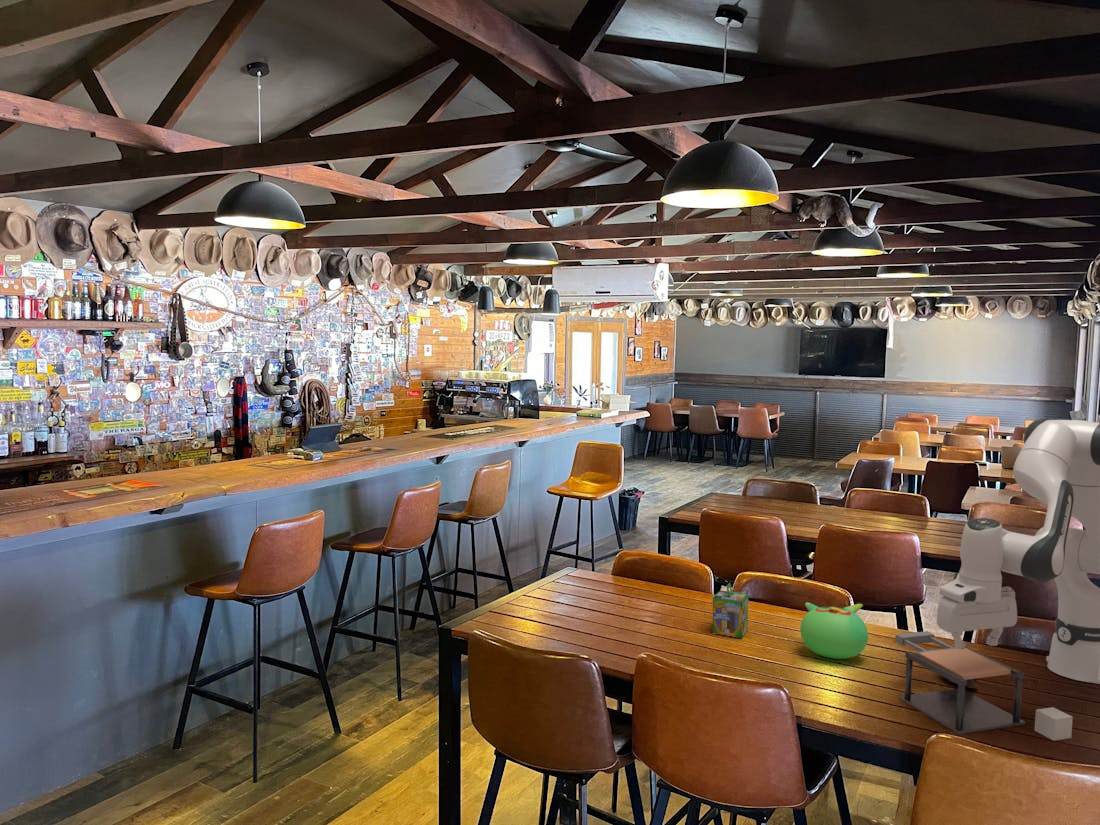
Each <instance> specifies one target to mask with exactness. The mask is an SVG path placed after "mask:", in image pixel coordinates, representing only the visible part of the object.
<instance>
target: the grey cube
mask: <svg viewBox="0 0 1100 825" xmlns="http://www.w3.org/2000/svg"><path fill="white" fill-rule="evenodd" d="M1034 716H1035V717H1034V732H1036V733H1038V734H1040V735H1043V736H1044V737H1046V738H1048V739H1050V740H1051V741H1054V742H1055V741H1060V740H1061V741H1063V740H1067V739H1072V734H1073V732H1072V731H1073V718H1074V717H1073V716H1072V715H1070V714H1068V713H1065V712H1063V711H1062V710H1060V709H1058V708H1056V707H1054V706H1052V707H1044V708H1038V709H1035V715H1034Z"/></svg>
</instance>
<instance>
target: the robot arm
mask: <svg viewBox="0 0 1100 825" xmlns="http://www.w3.org/2000/svg"><path fill="white" fill-rule="evenodd" d="M1012 476H1013V478H1014V480H1015V482H1016V484H1017V485H1018V486H1019V488H1020V489H1021V490H1022V491H1023V492H1025V493H1027V494H1028V495H1029V496H1031V497H1032V498H1035V499H1037V500H1039V501H1041V503H1044V504H1046V506H1047V509H1046V515H1045V519H1044V523H1043V527H1041V528H1039V529H1038V531H1036V533H1035V534H1034V535H1030V534H1023V533H1019V532H1014V531H1010V530H1008V529H1005V528H1003V525H1002V523H1001V522H1000V521H999V520H996V519H993V518H988V517H987V518H986V517H982V518H981V517H980V518H979V517H978V518H973V519H970V520H968V521H967V522H966V523H965V525H964V528H963V530H962V536H961V540H960V541H961V542H960V548H959V549H960V550H959V551H960V553H959V558H960V561H961V565H960V568H959V570H958V571H959V572H958V577H957V578H955V579H953V580H951V581H950V582H947V583H945V584H943V585H941V586H940V587H939V594H940V595H941V596H942V597H941V598H940V599H939V602H938V604H937V613H936V614H937V615H936V623H937V626H938V628H940V630H943V631H944V632H947V633H949V634H951V637H952V638H953V641H954V643H953V644H954V648H957V649H959V650H961V649H965V646H966V641H963V638H962V636H963V634H964V632H973V631H980V630H981V631H982V630H987V629H988V630H991V632H990V634H989V635H988V636H986V644H987V645H988V646H991V647H995V646H998V644H999V639H1000V637H1001V635H1002V633H1003V631H1004V628H1009V627H1010V628H1011V627H1015V625H1016V624H1017V622H1018V608H1017V600H1016V592H1015V590H1014V589H1013V588H1012V587H1011V586H1003V587H1002V584H1003V583H1002V582H1003V576H1002V572H1004V573H1008V574H1012V575H1015V576H1016V575H1017V576H1021V577H1024V578H1026V579H1029V580H1032V581H1035V582H1038V583H1041V584H1044V583H1046V582H1050V581H1052V580H1054V581H1055V584H1056V589H1057V595H1058V596H1057V597H1058V600H1057V604H1058V606H1057V616H1056V617H1055V621H1054V630H1055V632H1054V633H1053V635H1052V639H1051V644H1050V648H1049V649H1050V650H1049V655H1047V656H1046V658H1045V660H1046V662H1047V665H1046V666H1047V668H1048V669H1049V671H1051V672H1053V673H1054V674H1057V675H1059V676H1061V677H1065V678H1068V679H1071V680H1075V681H1080V682H1083V683H1085V682H1086V683H1092V684H1097V685H1100V587H1098V586H1097V585H1096V584H1094V583H1093V582H1092V581H1091V580H1090V578H1089V577H1088V575H1087V573H1091V574H1096V575H1100V422H1095V421H1090V420H1083V419H1050V418H1041V419H1035V420H1033V421H1032V422H1031V423H1030V424H1029V425H1028V426H1027V427H1026V429H1025V431H1024V435H1023V446H1022V447H1021V449H1020V451H1019V453H1018V455H1017V457H1016V460H1015V461H1014V464H1013V468H1012ZM1072 518H1074V519H1075V520H1077V521H1078V522H1079V523H1081V525H1082V526H1083V528H1084V529H1079V528H1074V527H1070V525H1071V524H1070V523H1071V519H1072ZM1001 571H1002V572H1001Z"/></svg>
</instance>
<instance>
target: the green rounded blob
mask: <svg viewBox="0 0 1100 825" xmlns="http://www.w3.org/2000/svg"><path fill="white" fill-rule="evenodd" d="M804 605H805V608H806V609H807V610H808V612H806V614H805V615H804V617H803V618H802V620H801V622H800V628H799V631H800V633H799V634H800V637H801V639H802V642H803V644H804V645H805V646H806V647H807V649H809V650H811V651H812V652H813V653H815V654H817V655H819V656H822V657H825V658H829V659H834V660H836V659H837V660H846V659H850V658H854V657H856V656H858V655H859V654H861V653H862V652H863V651H864V650H865V648H866V647H867V644H868V641H869V631H868V628H867V625H866V623H865V622H864V620H863V619H862V618H861V617H860V616H859V615H858V614H856V613H857V612H858V611H859V610H860V609H862V607H863V606H864V604H862V603H856V604H853V605H852V604H851V605H848V606H846V607H838V606H825V605H824V606H821V607H819V606H818V605H815V604H813V603H811V602H805V604H804Z"/></svg>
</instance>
